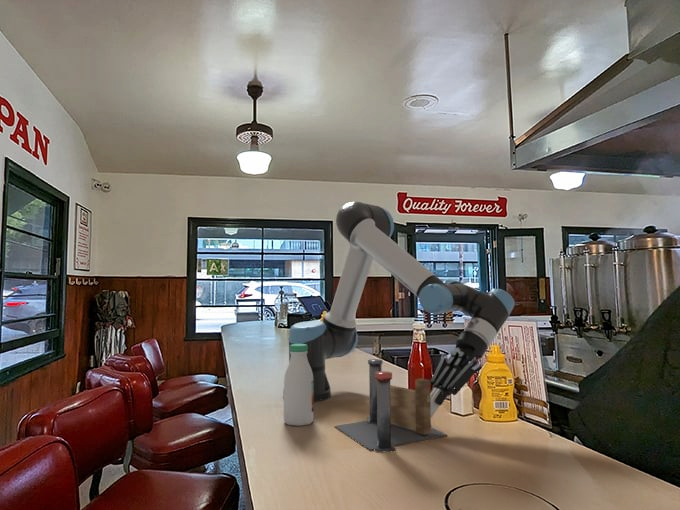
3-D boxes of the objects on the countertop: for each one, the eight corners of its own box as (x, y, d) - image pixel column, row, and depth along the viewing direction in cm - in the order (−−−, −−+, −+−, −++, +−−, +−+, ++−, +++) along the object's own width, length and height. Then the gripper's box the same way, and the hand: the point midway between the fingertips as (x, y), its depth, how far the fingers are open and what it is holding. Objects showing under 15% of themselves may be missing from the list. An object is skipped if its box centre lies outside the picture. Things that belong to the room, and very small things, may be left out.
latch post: (373, 444, 101) (372, 371, 102) (392, 444, 101) (392, 370, 102) (375, 451, 97) (374, 375, 98) (395, 451, 97) (394, 374, 98)
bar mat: (334, 427, 113) (334, 425, 113) (404, 416, 122) (404, 414, 122) (370, 450, 97) (370, 449, 97) (447, 436, 106) (447, 434, 106)
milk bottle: (309, 427, 113) (309, 346, 114) (279, 425, 115) (280, 346, 116) (316, 418, 121) (316, 342, 122) (289, 416, 122) (289, 342, 123)
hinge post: (366, 419, 120) (366, 359, 121) (383, 419, 120) (382, 358, 121) (368, 424, 115) (367, 361, 116) (385, 424, 115) (384, 361, 116)
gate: (379, 421, 115) (378, 373, 116) (385, 419, 117) (385, 371, 117) (425, 435, 105) (425, 381, 105) (432, 432, 106) (431, 380, 107)
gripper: (449, 327, 123) (400, 397, 115) (486, 331, 111) (434, 410, 102) (465, 345, 125) (418, 415, 117) (503, 351, 113) (453, 430, 105)
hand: (425, 413), depth 110 cm, fingers closed
